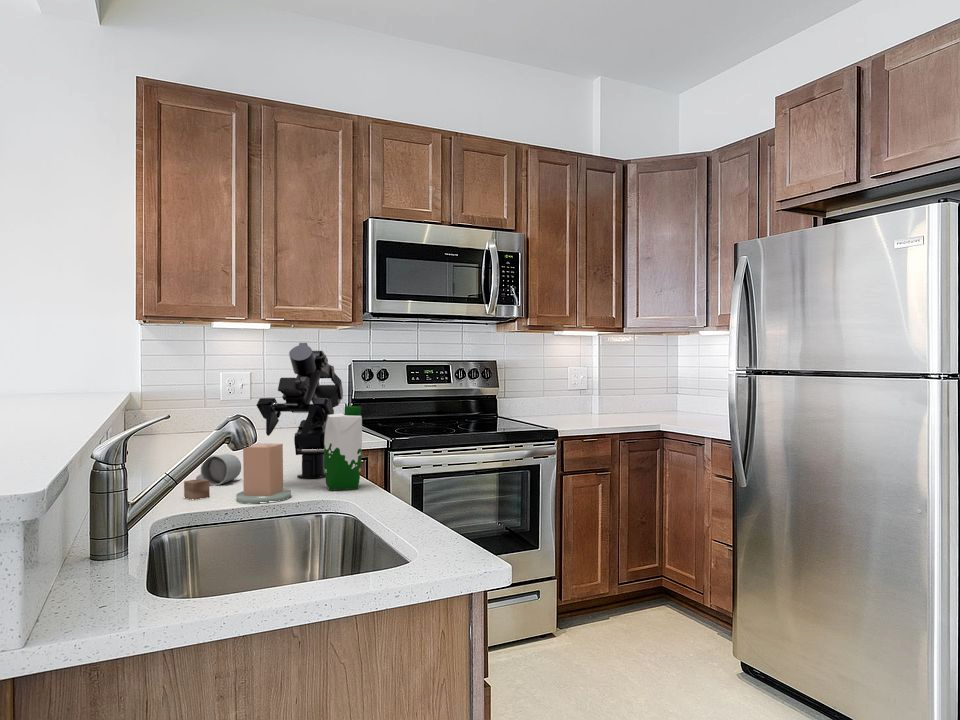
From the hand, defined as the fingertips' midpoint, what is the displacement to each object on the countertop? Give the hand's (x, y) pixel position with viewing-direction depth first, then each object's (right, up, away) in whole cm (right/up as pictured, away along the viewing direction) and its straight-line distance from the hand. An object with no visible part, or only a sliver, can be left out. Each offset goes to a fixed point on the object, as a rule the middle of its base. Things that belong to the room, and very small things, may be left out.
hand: (284, 434), depth 157 cm
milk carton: (+13, -14, +3) cm, 19 cm away
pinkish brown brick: (-2, -12, -8) cm, 15 cm away
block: (-19, -14, -7) cm, 24 cm away
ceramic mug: (-21, -14, +11) cm, 28 cm away
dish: (-2, -14, -8) cm, 16 cm away
